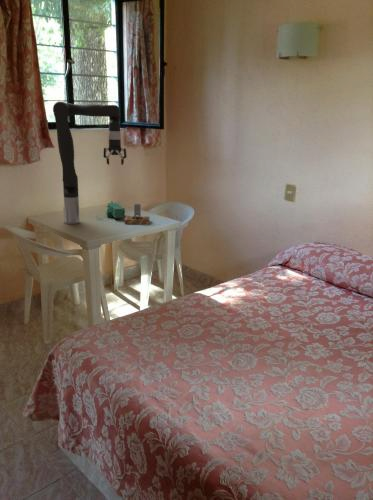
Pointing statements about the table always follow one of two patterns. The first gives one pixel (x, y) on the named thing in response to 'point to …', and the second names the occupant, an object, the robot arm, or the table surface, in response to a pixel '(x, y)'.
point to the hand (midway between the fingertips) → (115, 164)
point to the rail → (137, 220)
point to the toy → (115, 210)
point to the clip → (137, 211)
